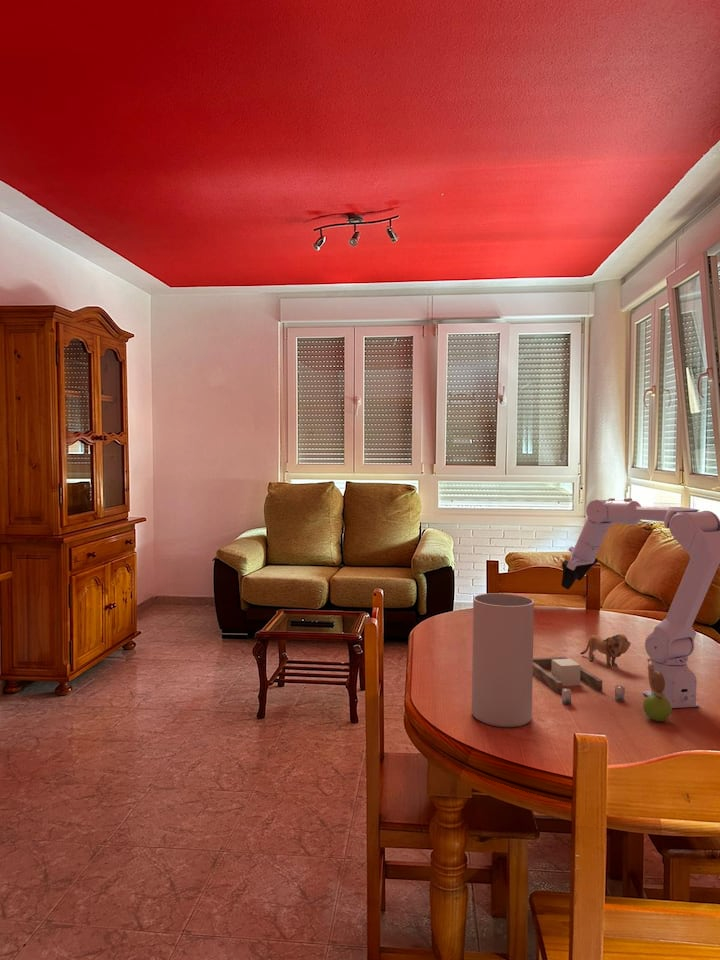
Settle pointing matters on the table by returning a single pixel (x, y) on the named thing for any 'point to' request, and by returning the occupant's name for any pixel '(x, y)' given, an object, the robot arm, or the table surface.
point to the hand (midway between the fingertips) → (571, 582)
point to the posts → (567, 692)
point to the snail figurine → (656, 697)
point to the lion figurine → (608, 647)
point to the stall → (556, 684)
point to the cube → (566, 671)
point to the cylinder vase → (502, 659)
